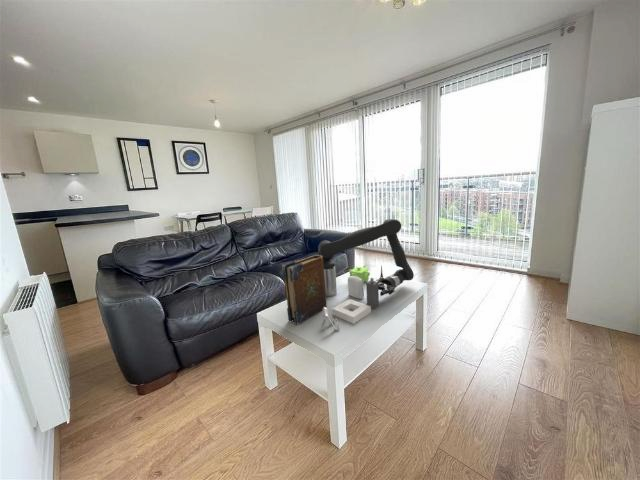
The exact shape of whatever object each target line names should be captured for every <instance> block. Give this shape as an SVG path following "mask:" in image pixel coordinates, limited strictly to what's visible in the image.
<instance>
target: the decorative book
mask: <svg viewBox="0 0 640 480" xmlns="http://www.w3.org/2000/svg"><path fill="white" fill-rule="evenodd" d="M281 267H282V268H281V269H282V275H283V280H284V284H285V285H284V287H285V294H286V295H285V296H286V303H287V304H286V305H287V308H286V311H287V320H289V321H292V320H294V319H295V320H294V323H295V324H296V325H295V326H297V325H298V326H300V325H301V324H302V322H303V323H305V322H306V321H308V319H309V318H311V317H313V316H314V315H316V314H317V313H320V312H321V311H323V307H326V308H327V305H328V303H327V296H326V290H325V278H324V265H323V256H321V255H319V254H316V255H311V256H308V257H305V258H303V259H299V260H297V261H289V262H286V263H285V264H282V265H281ZM289 321H288V322H289ZM304 321H305V322H304ZM292 322H293V321H292ZM299 324H300V325H299Z"/></svg>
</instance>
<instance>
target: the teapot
mask: <svg viewBox="0 0 640 480" xmlns="http://www.w3.org/2000/svg"><path fill="white" fill-rule="evenodd" d="M348 273H349V277H350V276H356V277H359V278H361V279H362V280H363V285H364V283H365V284H366V283H367V282H368V280H369V277H370V275H371V272H370V271H369V267H366V264H363V266H355V267H354V268H352V269H348Z"/></svg>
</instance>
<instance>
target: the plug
mask: <svg viewBox="0 0 640 480" xmlns="http://www.w3.org/2000/svg"><path fill="white" fill-rule="evenodd" d="M365 287H366V288H365V290H366V292H365V293H366V305H368V306H371V310H376V309H378V308H379V307H380V301H379V297H380V296H379V295H380V292H379V290H378V282H377V281H376V280H374V277H370V280H369V281H366V282H365Z"/></svg>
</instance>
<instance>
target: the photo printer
mask: <svg viewBox="0 0 640 480" xmlns="http://www.w3.org/2000/svg"><path fill="white" fill-rule="evenodd" d="M347 289H348V295H349V296H350V297H351V296H352V297H353V298H356V299H359V300H362V299H364V298H365V290H364V284H363V280H362V279H361V278H359V277H356V276H350V275H349V276H348V277H347Z"/></svg>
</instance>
